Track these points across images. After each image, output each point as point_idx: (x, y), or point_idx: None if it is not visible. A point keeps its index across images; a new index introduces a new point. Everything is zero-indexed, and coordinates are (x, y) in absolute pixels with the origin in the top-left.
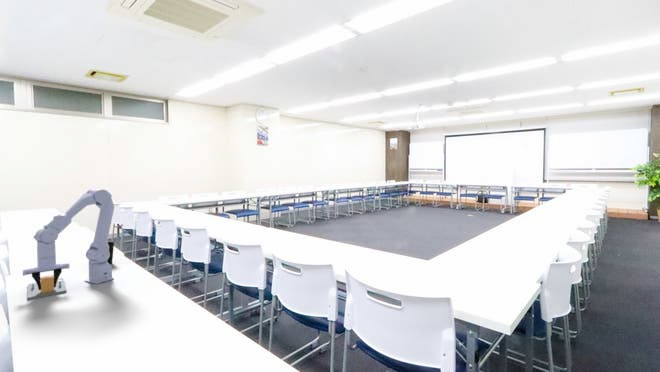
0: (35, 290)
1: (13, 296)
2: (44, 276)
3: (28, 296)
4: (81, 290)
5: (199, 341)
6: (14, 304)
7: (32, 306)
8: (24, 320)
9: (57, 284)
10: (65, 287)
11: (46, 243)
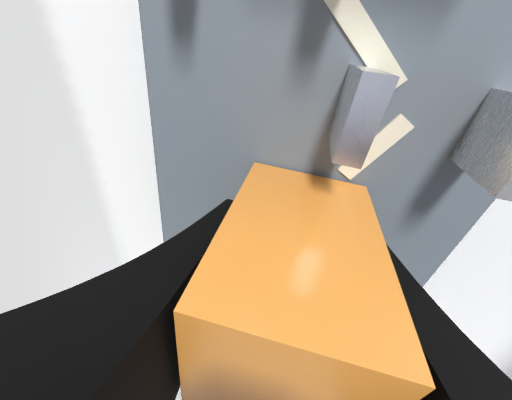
0: (214, 81)
1: (51, 17)
2: (244, 341)
3: (167, 228)
4: (479, 335)
5: None
6: (121, 245)
7: None
8: (179, 390)
9: None
10: (453, 245)
11: None
